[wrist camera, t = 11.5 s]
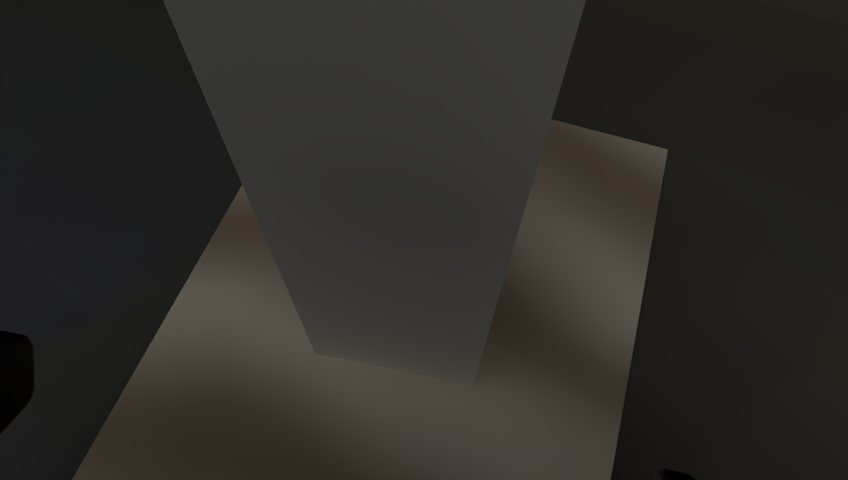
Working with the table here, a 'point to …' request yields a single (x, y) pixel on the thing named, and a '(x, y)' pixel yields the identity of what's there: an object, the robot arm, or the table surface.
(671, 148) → the table surface
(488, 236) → the tall grey block
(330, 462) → the oak plinth
